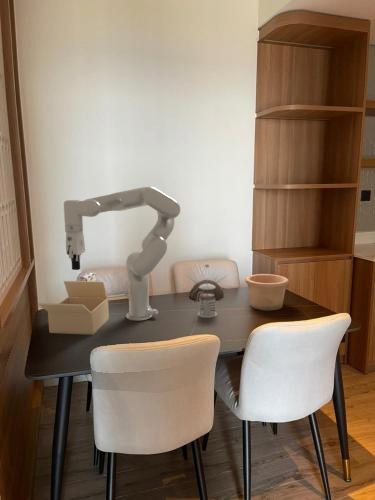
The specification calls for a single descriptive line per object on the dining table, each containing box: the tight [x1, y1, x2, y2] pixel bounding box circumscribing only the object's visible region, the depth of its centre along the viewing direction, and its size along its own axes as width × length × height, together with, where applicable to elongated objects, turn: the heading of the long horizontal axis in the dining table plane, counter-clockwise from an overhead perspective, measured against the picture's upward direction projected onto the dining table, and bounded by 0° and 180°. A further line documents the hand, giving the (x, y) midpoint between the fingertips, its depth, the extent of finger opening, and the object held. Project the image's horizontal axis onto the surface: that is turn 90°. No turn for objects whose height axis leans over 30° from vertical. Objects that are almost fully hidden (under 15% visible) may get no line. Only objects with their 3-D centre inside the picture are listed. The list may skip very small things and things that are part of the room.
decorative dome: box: [189, 279, 225, 302], centre depth 215 cm, size 19×20×10 cm
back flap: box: [63, 280, 108, 298], centre depth 180 cm, size 19×10×1 cm
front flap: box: [37, 302, 91, 313], centre depth 158 cm, size 19×10×1 cm
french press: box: [196, 264, 218, 318], centre depth 184 cm, size 10×12×25 cm
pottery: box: [244, 273, 290, 311], centre depth 198 cm, size 22×22×14 cm
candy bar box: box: [78, 272, 97, 282], centre depth 203 cm, size 11×5×16 cm, turn 168°
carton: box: [47, 296, 110, 335], centre depth 173 cm, size 20×20×10 cm
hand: (76, 269), depth 170 cm, fingers closed
